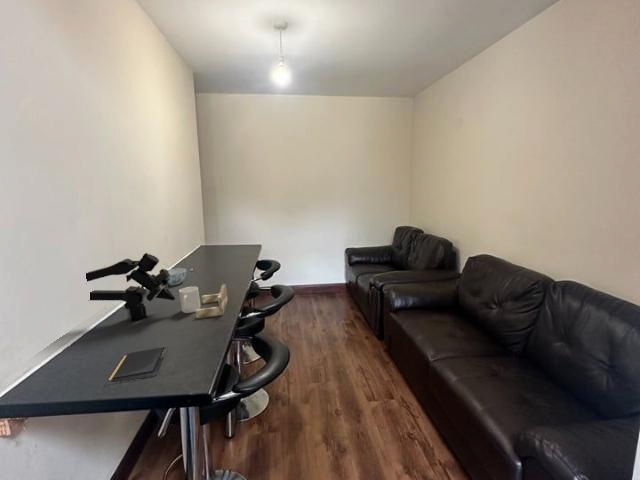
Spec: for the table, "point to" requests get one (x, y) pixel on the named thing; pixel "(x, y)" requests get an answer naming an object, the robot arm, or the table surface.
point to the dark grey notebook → (138, 365)
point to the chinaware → (176, 276)
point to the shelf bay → (214, 298)
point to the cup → (189, 299)
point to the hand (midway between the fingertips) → (174, 299)
